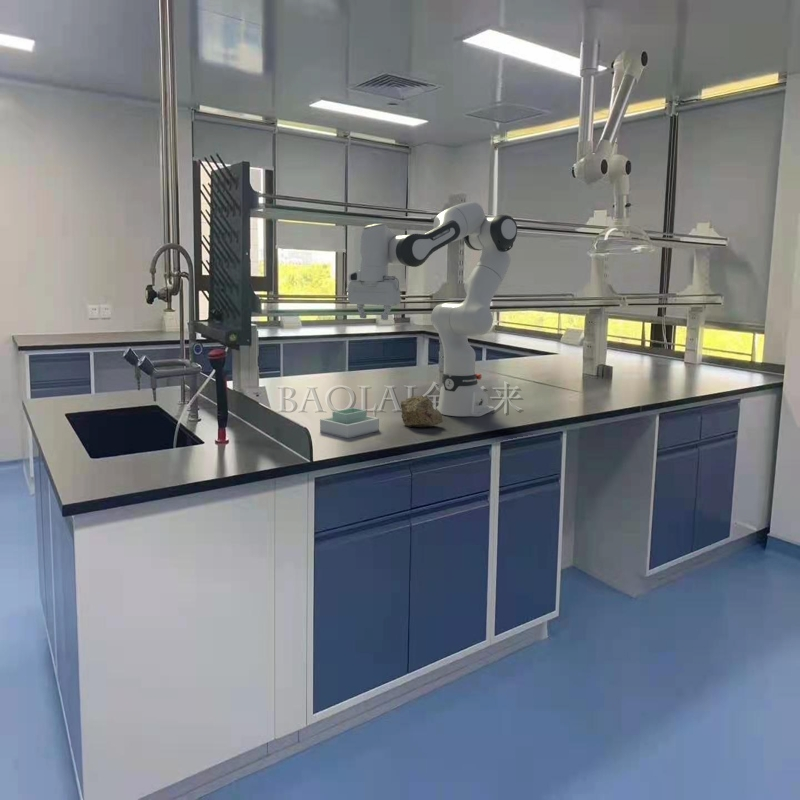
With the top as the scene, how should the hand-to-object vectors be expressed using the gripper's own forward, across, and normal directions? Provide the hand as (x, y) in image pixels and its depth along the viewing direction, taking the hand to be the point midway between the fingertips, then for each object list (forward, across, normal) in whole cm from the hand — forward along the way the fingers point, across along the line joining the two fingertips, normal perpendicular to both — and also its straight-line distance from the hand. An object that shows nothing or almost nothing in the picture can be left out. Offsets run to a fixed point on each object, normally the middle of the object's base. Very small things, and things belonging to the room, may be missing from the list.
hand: (373, 319), depth 215 cm
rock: (+34, -14, -7) cm, 38 cm away
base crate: (+34, -4, +15) cm, 37 cm away
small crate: (+34, -4, +15) cm, 37 cm away
